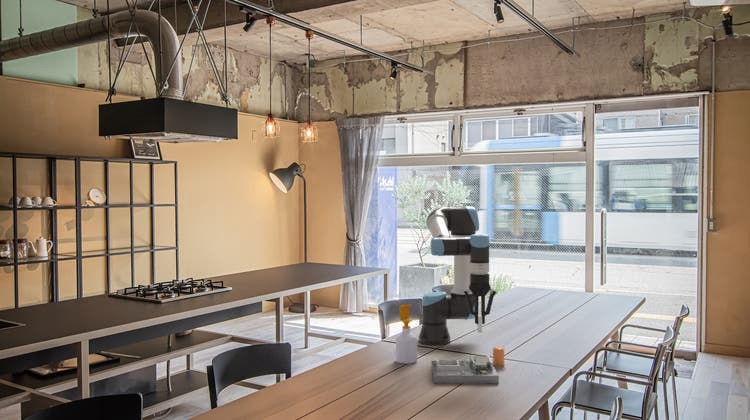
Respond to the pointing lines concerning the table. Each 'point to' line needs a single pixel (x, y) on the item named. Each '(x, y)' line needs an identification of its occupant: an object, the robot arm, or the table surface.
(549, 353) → the table surface
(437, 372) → the breaker panel
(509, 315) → the table surface
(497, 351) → the cap
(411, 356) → the soap bottle
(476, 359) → the block
